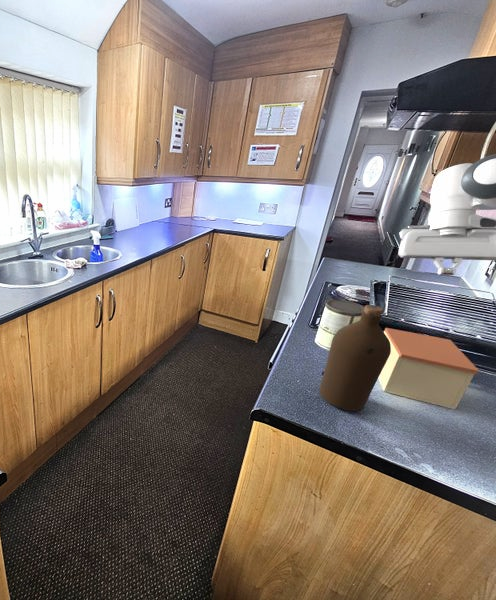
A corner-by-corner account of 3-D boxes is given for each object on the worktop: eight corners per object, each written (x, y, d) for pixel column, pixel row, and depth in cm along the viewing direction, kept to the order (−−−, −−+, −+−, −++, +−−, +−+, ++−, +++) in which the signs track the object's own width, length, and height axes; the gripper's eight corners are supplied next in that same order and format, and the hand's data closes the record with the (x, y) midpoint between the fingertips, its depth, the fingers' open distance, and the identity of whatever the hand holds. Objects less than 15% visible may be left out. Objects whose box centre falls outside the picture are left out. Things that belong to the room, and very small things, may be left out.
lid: (477, 374, 74) (479, 370, 73) (400, 357, 80) (401, 354, 79) (449, 342, 87) (450, 339, 87) (384, 330, 93) (385, 327, 93)
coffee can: (317, 333, 113) (329, 296, 107) (354, 344, 106) (368, 305, 101) (311, 345, 106) (322, 306, 100) (349, 357, 100) (364, 316, 94)
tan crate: (455, 409, 78) (475, 372, 74) (383, 391, 84) (399, 355, 80) (432, 376, 91) (449, 342, 87) (371, 362, 97) (384, 330, 93)
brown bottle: (379, 410, 77) (420, 316, 67) (340, 416, 76) (376, 320, 66) (341, 382, 87) (372, 296, 77) (306, 387, 85) (333, 299, 75)
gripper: (404, 222, 92) (400, 270, 91) (511, 220, 82) (508, 274, 82) (396, 228, 97) (392, 274, 97) (496, 228, 88) (492, 278, 87)
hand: (446, 274), depth 89 cm, fingers closed
